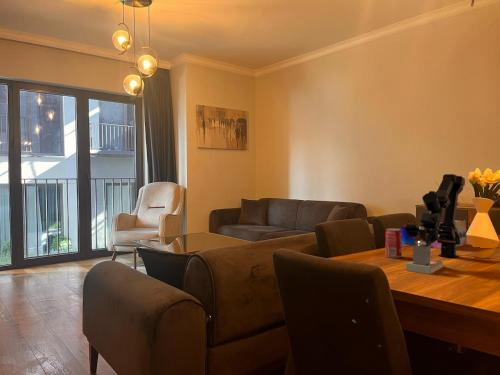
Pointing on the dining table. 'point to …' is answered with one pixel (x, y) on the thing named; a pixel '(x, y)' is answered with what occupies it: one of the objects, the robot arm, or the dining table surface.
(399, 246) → the soda can
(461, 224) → the gum box
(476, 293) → the dining table surface
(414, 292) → the dining table surface
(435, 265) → the rail
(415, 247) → the gray block silver cap
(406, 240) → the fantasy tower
